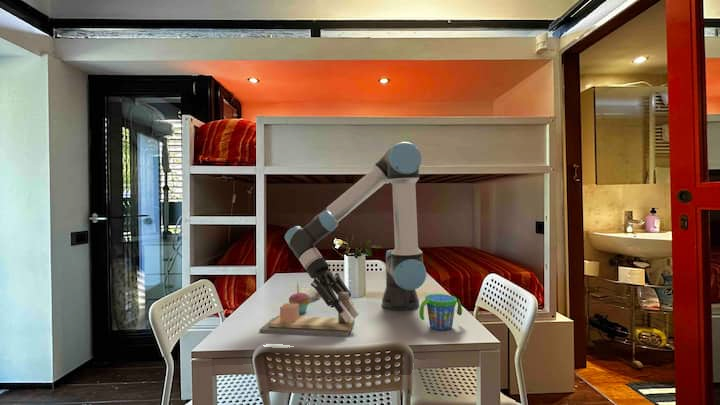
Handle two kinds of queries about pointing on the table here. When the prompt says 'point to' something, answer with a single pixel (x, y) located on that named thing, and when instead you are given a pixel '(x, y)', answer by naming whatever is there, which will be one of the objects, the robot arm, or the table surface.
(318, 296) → the laptop
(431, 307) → the snack cup
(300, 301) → the cupcake
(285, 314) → the cube
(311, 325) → the tan wooden stand
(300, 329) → the lane board
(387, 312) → the table surface
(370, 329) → the table surface
